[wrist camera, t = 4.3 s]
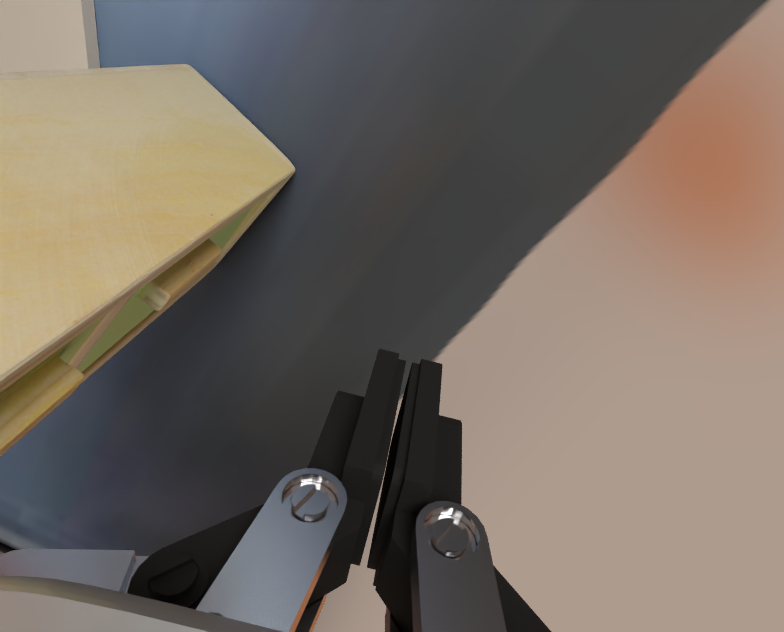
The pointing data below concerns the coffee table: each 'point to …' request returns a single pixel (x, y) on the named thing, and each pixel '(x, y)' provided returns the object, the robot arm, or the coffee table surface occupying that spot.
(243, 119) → the toy refrigerator
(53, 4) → the sheet of paper
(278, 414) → the coffee table surface
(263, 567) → the robot arm
